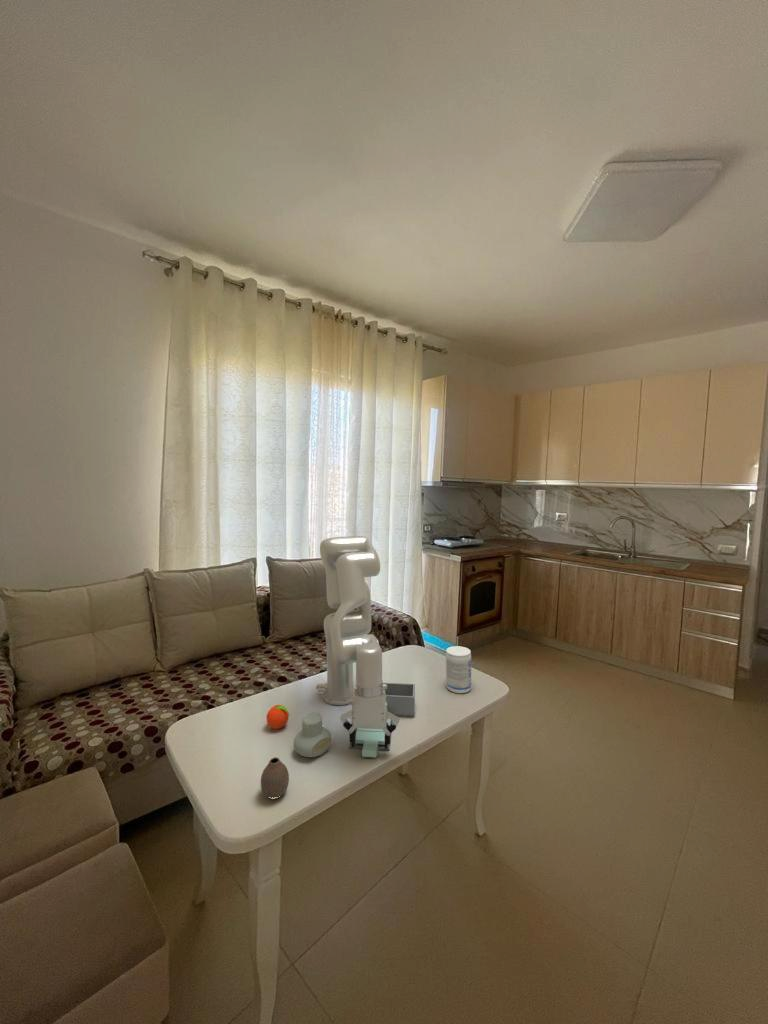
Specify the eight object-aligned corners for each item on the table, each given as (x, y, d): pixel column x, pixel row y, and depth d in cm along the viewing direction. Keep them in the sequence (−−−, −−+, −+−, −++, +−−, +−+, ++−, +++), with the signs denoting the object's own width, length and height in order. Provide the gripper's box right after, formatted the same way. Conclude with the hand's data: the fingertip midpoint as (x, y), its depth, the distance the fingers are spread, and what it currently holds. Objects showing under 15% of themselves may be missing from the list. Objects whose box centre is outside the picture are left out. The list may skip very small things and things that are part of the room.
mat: (348, 748, 117) (348, 746, 117) (357, 717, 133) (357, 715, 133) (389, 750, 116) (389, 748, 116) (393, 719, 132) (393, 717, 132)
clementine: (295, 722, 130) (295, 702, 130) (285, 735, 124) (284, 713, 123) (273, 719, 132) (273, 698, 132) (262, 731, 126) (261, 710, 125)
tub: (375, 715, 134) (375, 695, 134) (378, 701, 143) (378, 682, 142) (414, 717, 133) (414, 697, 132) (414, 702, 142) (414, 683, 141)
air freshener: (305, 766, 110) (304, 732, 109) (289, 752, 116) (288, 719, 115) (336, 747, 118) (335, 715, 117) (319, 735, 124) (318, 704, 123)
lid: (361, 717, 132) (361, 712, 132) (391, 719, 131) (391, 713, 131) (351, 756, 113) (351, 750, 113) (386, 758, 112) (386, 751, 112)
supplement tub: (474, 693, 148) (475, 655, 147) (450, 695, 147) (450, 656, 146) (466, 680, 157) (466, 644, 156) (442, 682, 156) (443, 646, 155)
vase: (255, 799, 98) (254, 766, 98) (272, 780, 105) (271, 748, 104) (278, 807, 96) (277, 773, 95) (294, 787, 102) (293, 754, 102)
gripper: (400, 682, 117) (400, 738, 118) (342, 680, 118) (343, 735, 119) (398, 696, 109) (398, 755, 110) (336, 693, 111) (337, 752, 112)
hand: (369, 745), depth 115 cm, fingers open, 9 cm apart
